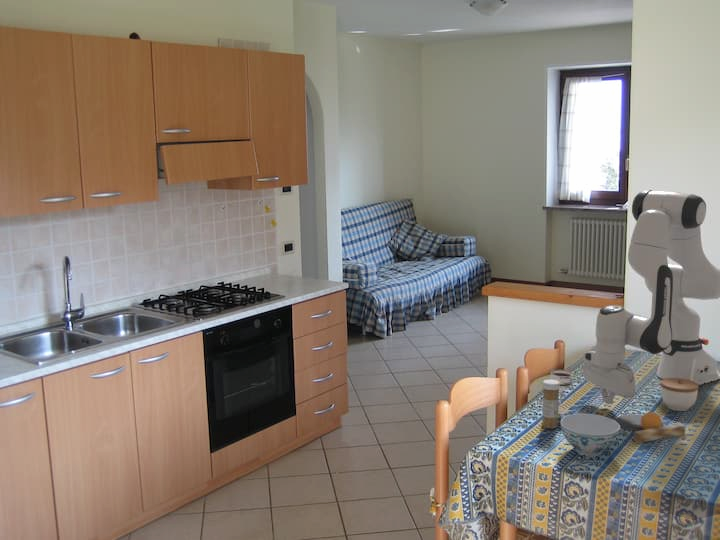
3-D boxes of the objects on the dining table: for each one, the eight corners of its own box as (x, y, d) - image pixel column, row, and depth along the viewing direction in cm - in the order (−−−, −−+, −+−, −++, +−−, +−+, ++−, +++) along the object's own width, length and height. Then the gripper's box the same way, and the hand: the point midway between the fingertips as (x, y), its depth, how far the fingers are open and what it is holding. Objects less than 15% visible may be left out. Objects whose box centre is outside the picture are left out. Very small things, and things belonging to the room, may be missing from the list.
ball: (655, 406, 219) (667, 419, 214) (651, 420, 222) (663, 433, 217) (638, 410, 217) (650, 423, 213) (635, 424, 220) (646, 438, 216)
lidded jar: (700, 414, 230) (702, 384, 229) (662, 412, 232) (664, 382, 231) (692, 402, 241) (694, 373, 239) (656, 400, 243) (658, 371, 241)
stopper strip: (679, 431, 217) (680, 423, 217) (684, 434, 215) (685, 425, 215) (633, 440, 212) (634, 431, 211) (638, 442, 210) (639, 434, 209)
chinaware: (606, 439, 212) (608, 413, 211) (627, 462, 197) (628, 434, 196) (552, 441, 212) (553, 414, 210) (569, 464, 197) (570, 435, 196)
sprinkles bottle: (550, 422, 225) (552, 377, 223) (561, 427, 221) (563, 382, 219) (538, 424, 223) (539, 380, 221) (548, 430, 219) (550, 384, 217)
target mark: (641, 412, 232) (641, 412, 232) (673, 427, 220) (673, 427, 220) (605, 418, 228) (605, 418, 227) (636, 434, 216) (636, 433, 216)
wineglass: (575, 410, 234) (577, 372, 232) (564, 416, 229) (566, 378, 227) (555, 405, 239) (557, 368, 237) (544, 411, 234) (545, 373, 232)
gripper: (641, 367, 226) (639, 412, 228) (596, 349, 244) (594, 391, 247) (624, 369, 223) (621, 415, 226) (580, 351, 242) (578, 394, 245)
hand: (607, 402), depth 236 cm, fingers closed
